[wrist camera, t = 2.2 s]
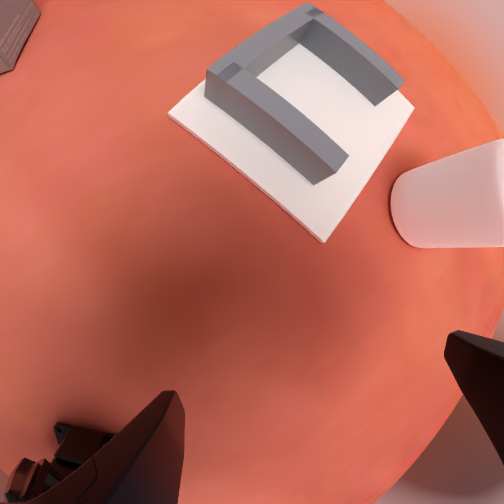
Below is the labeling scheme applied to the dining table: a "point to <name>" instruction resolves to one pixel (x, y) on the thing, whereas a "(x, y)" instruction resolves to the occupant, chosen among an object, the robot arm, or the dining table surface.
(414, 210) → the can
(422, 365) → the dining table surface
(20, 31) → the skincare box
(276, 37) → the socket
